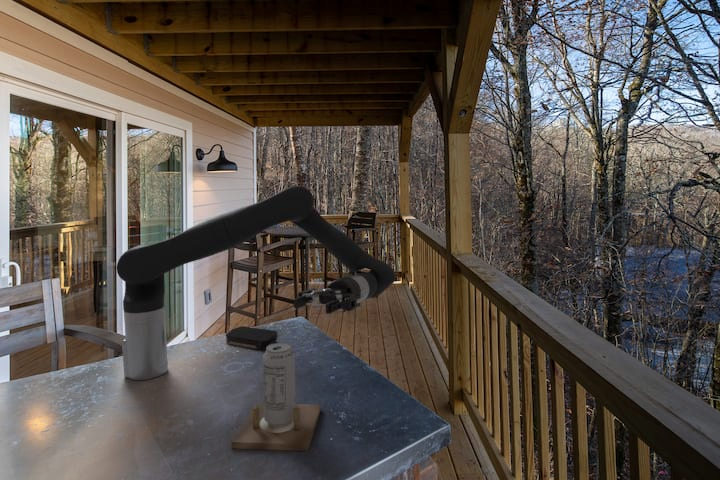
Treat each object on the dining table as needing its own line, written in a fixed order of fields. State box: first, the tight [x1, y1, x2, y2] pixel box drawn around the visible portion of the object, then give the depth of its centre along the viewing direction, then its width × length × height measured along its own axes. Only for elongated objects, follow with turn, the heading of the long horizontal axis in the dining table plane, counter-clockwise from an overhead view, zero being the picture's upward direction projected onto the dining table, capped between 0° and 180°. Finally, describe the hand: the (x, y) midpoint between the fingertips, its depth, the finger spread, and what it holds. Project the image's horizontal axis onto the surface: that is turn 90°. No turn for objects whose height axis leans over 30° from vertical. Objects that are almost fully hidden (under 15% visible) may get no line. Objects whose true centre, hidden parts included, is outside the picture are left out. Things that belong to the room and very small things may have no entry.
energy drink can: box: [262, 342, 296, 428], centre depth 79 cm, size 6×6×15 cm
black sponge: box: [225, 325, 279, 350], centre depth 127 cm, size 16×8×4 cm, turn 65°
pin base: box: [230, 402, 322, 452], centre depth 79 cm, size 14×14×5 cm
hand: (310, 306), depth 87 cm, fingers open, 8 cm apart
